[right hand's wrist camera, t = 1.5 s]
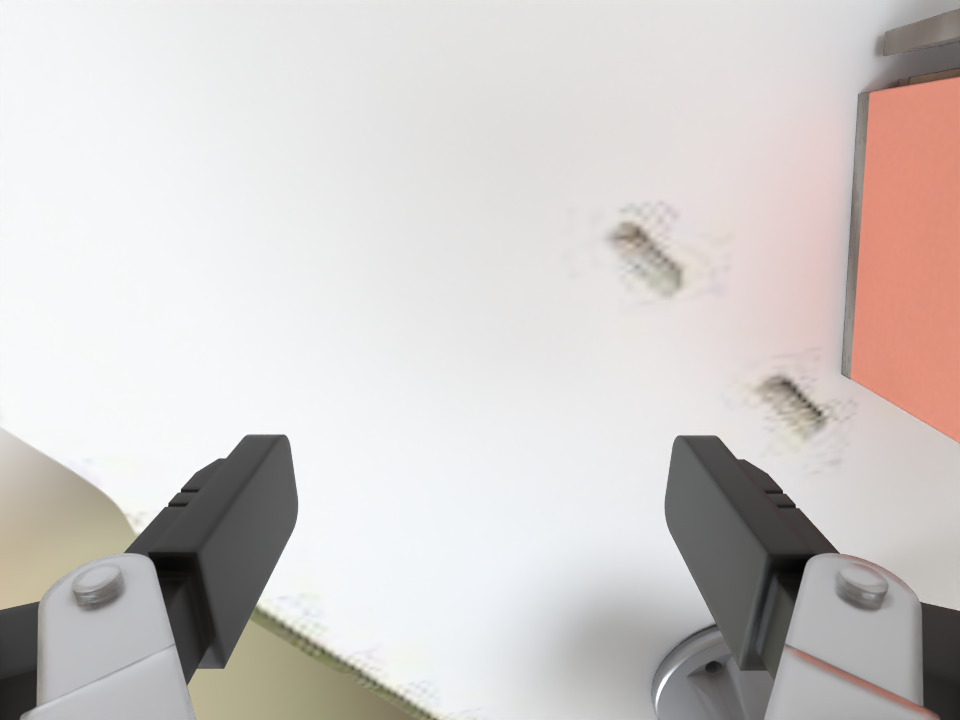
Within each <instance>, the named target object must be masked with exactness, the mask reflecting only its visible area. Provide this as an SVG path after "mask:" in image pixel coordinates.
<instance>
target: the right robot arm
mask: <svg viewBox="0 0 960 720" xmlns="http://www.w3.org/2000/svg"><path fill="white" fill-rule="evenodd" d="M168 504H169V505H168V507H165V508H164V509H163V510H162V511H161V512H160V513H159V514H158V515H157V517H156V518H155V519H154V520H153V521H152V522H151V523H150V524H149V526H148V527H147V528H146V529H145V530H144V531H143V532H142V533H141V534H140V536H139V537H138V538H137V539H136V540H135V541H134V542H133V543H132V544H131V546H130V547H129V548H128V549H127V550H126V551H125V552H124V553H122V554H115V555H110V556H106V557H102V558H99V559H96V560H93V561H91V562H89V563H86V564H84V565H82V566H80V567H78V568H76V569H74V570H73V571H71V572H69V573H68V574H66V575H65V576H63V577H62V578H60V579H59V580H58V581H57V582H56V583H54V584H53V585H52V586H51V587H50V588H49V589H48V590H47V592H46V593H45V594H44V596H43V597H42V599H41V601H40V602H35V603H30V604H26V605H21V606H17V607H12V608H8V609H3V610H0V720H196V717H195V714H194V710H193V706H192V702H191V699H190V695H189V691H188V688H187V685H188V683H189V682H190V680H191V678H192V676H193V674H194V673H195V671H196V669H224V668H225V666H226V664H227V662H228V660H229V658H230V656H231V654H232V652H233V650H234V648H235V646H236V644H237V642H238V640H239V637H240V636H241V634H242V632H243V630H244V628H245V626H246V624H247V622H248V620H249V618H250V616H251V614H252V612H253V610H254V608H255V606H256V604H257V602H258V600H259V598H260V596H261V594H262V592H263V590H264V588H265V586H266V584H267V582H268V580H269V578H270V576H271V574H272V572H273V570H274V568H275V566H276V564H277V562H278V560H279V558H280V556H281V554H282V552H283V550H284V548H285V546H286V544H287V542H288V540H289V538H290V536H291V534H292V532H293V529H294V527H295V524H296V520H297V514H298V496H297V489H296V482H295V475H294V468H293V461H292V454H291V448H290V443H289V440H288V438H287V436H286V435H246V436H245V437H244V438H243V439H242V440H241V442H240V443H239V444H238V445H237V446H236V447H235V449H234V450H233V451H232V452H231V453H230V455H229V456H228V457H227V458H226V459H217V460H216V461H214V462H213V463H211V464H209V465H208V466H206V467H204V468H203V469H201V470H200V471H198V472H196V473H195V474H194V475H193V477H192V478H191V479H190V480H189V481H188V482H187V483H186V484H185V485H184V487H183V488H182V489H181V493H177V494H176V495H175V497H174V498H173V499H172V500H171V501H170V502H169V503H168ZM665 516H666V522H667V526H668V529H669V531H670V533H671V535H672V537H673V539H674V541H675V543H676V545H677V547H678V549H679V551H680V553H681V555H682V557H683V559H684V561H685V563H686V565H687V567H688V569H689V571H690V573H691V575H692V577H693V579H694V580H695V582H696V584H697V586H698V588H699V590H700V592H701V594H702V596H703V598H704V600H705V602H706V604H707V606H708V608H709V610H710V612H711V614H712V616H713V618H714V620H715V622H716V624H717V626H718V628H719V630H720V632H721V634H722V636H723V638H724V640H725V642H726V644H727V646H728V648H729V650H730V652H731V654H732V656H733V658H734V659H735V661H736V663H737V665H738V667H739V669H740V671H768V672H769V674H770V675H771V677H772V679H773V681H774V684H773V688H772V691H771V695H770V699H769V702H768V706H767V710H766V714H765V717H764V720H960V611H957V610H953V609H948V608H944V607H939V606H935V605H930V604H926V603H922V602H920V601H919V599H918V597H917V596H916V594H915V593H914V592H913V590H912V589H911V588H910V587H909V586H908V585H907V584H906V583H904V582H903V581H902V580H901V579H900V578H898V577H897V576H895V575H894V574H892V573H891V572H889V571H888V570H886V569H884V568H882V567H880V566H878V565H876V564H874V563H872V562H869V561H867V560H864V559H861V558H858V557H854V556H850V555H845V554H840V553H839V552H838V551H837V550H836V549H835V548H834V546H833V545H832V544H831V543H830V542H829V541H828V540H827V539H826V538H825V537H824V535H823V534H822V533H821V532H820V531H819V530H818V529H817V528H816V527H815V525H814V524H813V523H812V522H811V521H810V520H809V519H808V518H807V517H806V516H805V514H804V513H803V512H802V511H801V510H800V509H799V508H796V506H795V503H794V502H793V501H792V500H791V499H790V498H789V497H788V496H787V495H786V494H783V490H782V489H781V488H780V487H779V486H778V485H777V484H776V483H775V481H774V480H773V479H772V478H771V477H770V476H769V475H768V474H767V473H765V472H764V471H762V470H761V469H759V468H757V467H756V466H754V465H752V464H751V463H749V462H748V461H746V460H737V459H736V457H735V456H734V455H733V454H732V453H731V452H730V450H729V449H728V448H727V447H726V446H725V444H724V443H723V442H722V441H721V440H720V439H719V438H718V437H717V436H677V437H676V439H675V441H674V443H673V448H672V455H671V462H670V468H669V475H668V482H667V489H666V496H665Z"/></svg>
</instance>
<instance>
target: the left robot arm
mask: <svg viewBox="0 0 960 720" xmlns="http://www.w3.org/2000/svg"><path fill="white" fill-rule="evenodd" d="M773 684H774V681H773V679H772V677H771V675H770V674H769V672H768V671H740V669H739V667H738V665H737V663H736V661H735V659H734V658H733V656H732V654H731V652H730V650H729V648H728V646H727V644H726V642H725V640H724V638H723V636H722V634H721V632H720V630H719V628H718V626H716V627H712V628H710V629H707V630H705V631H702V632H700V633H698V634H696V635H694V636H692V637H691V638H689V639H687V640H686V641H684V642H683V643H681V644H680V645H679V646H677V647H676V648H675V649H674V650H673V651H672V652H671V653H670V654H669V655H668V656H667V657H666V658H665V659H664V661H663V662H662V664H661V665H660V667H659V668H658V670H657V672H656V674H655V677H654V680H653V684H652V702H653V705H654V709H655V712H656V715H657V718H658V720H764V717H765V714H766V710H767V706H768V702H769V699H770V695H771V691H772V688H773Z"/></svg>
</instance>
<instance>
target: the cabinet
mask: <svg viewBox="0 0 960 720" xmlns="http://www.w3.org/2000/svg"><path fill="white" fill-rule="evenodd" d="M842 375H844V376H846V377H847V378H849V379H852V380H854V381H855V382H857V383H859V384H860V385H862V386H864V387H865V388H867V389H869V390H871V391H872V392H874V393H876V394H877V395H879V396H881V397H882V398H884V399H886V400H887V401H889V402H891V403H893V404H894V405H896V406H898V407H899V408H901V409H903V410H904V411H906V412H908V413H909V414H911V415H913V416H914V417H916V418H918V419H920V420H921V421H923V422H925V423H926V424H928V425H930V426H931V427H933V428H935V429H936V430H938V431H940V432H942V433H943V434H945V435H947V436H948V437H950V438H952V439H953V440H955V441H957V442H958V443H960V76H959V77H953V78H947V79H941V80H936V81H930V82H924V83H918V84H913V85H907V86H901V87H893V88H888V89H883V90H878V91H872V92H867V93H861V94H859V96H858V113H857V129H856V146H855V162H854V178H853V195H852V211H851V228H850V244H849V261H848V277H847V293H846V310H845V326H844V343H843V359H842Z"/></svg>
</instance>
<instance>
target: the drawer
mask: <svg viewBox="0 0 960 720" xmlns="http://www.w3.org/2000/svg"><path fill="white" fill-rule="evenodd" d="M959 41H960V9H956V10H953V11H950V12H947V13H944V14H941V15H937V16H934V17H931V18H928V19H925V20H922V21H918V22H915V23H912V24H909V25H906V26H903V27H899V28H896V29H893V30H890V31H887V32H885V42H884V56H888V55H893V54H898V53H903V52H908V51H913V50H919V49H924V48H929V47H934V46H939V45H944V44H949V43H954V42H959ZM959 76H960V68H956V69H951V70H945V71H940V72H935V73H930V74H925V75H920V76H914V77H909V78H904V79H900V80H899V86H898V87H901V86H907V85H913V84H918V83H924V82H930V81H936V80H941V79H947V78H953V77H959Z"/></svg>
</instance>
